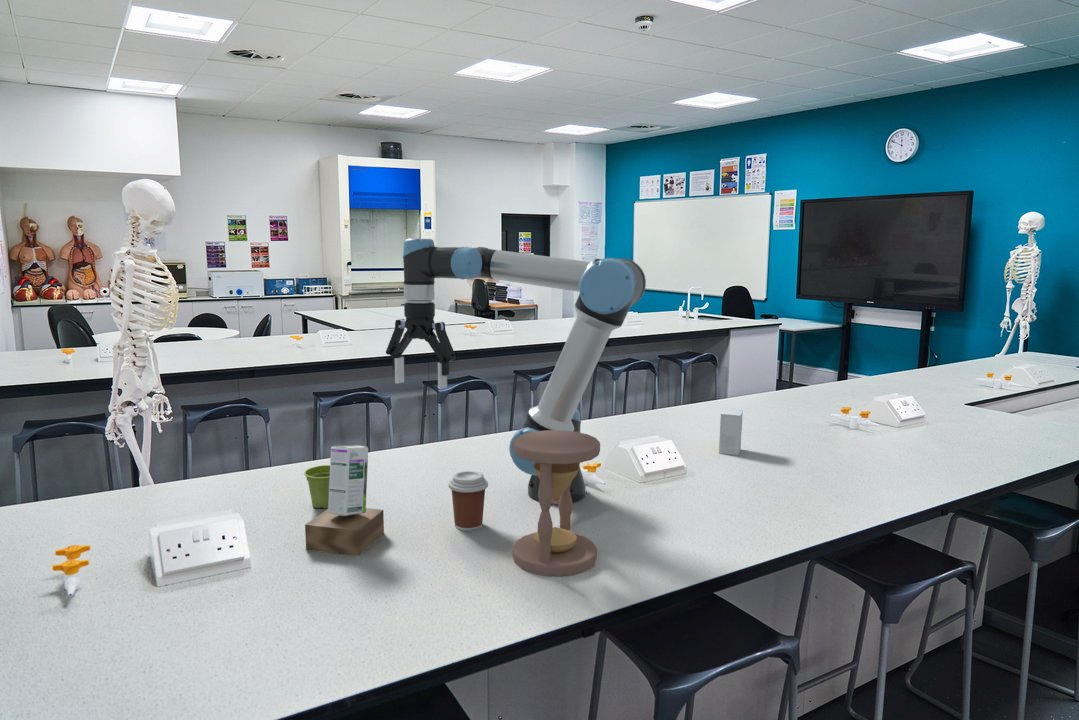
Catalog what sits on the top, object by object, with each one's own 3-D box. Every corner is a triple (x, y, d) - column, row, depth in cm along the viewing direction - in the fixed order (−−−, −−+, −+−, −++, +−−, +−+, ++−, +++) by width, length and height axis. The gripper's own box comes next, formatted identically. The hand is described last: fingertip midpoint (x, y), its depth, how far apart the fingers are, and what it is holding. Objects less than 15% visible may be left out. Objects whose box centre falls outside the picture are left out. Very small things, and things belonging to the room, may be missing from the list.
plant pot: (352, 504, 173) (351, 470, 171) (317, 514, 166) (316, 479, 164) (332, 495, 179) (331, 462, 178) (298, 504, 172) (296, 470, 171)
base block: (383, 535, 155) (383, 509, 154) (358, 558, 144) (357, 530, 143) (335, 529, 158) (334, 504, 157) (306, 551, 147) (305, 524, 146)
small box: (720, 447, 227) (723, 408, 225) (740, 449, 225) (743, 409, 223) (718, 453, 220) (720, 413, 218) (739, 456, 218) (741, 415, 216)
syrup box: (345, 516, 146) (349, 447, 147) (326, 513, 149) (330, 445, 150) (366, 513, 151) (369, 446, 152) (347, 510, 154) (350, 444, 155)
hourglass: (570, 585, 133) (573, 458, 129) (495, 562, 142) (496, 444, 138) (611, 552, 147) (614, 437, 143) (541, 533, 156) (543, 425, 152)
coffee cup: (451, 535, 155) (451, 483, 153) (446, 519, 164) (445, 470, 162) (491, 531, 157) (492, 480, 156) (484, 516, 166) (484, 467, 164)
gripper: (469, 303, 170) (470, 388, 173) (390, 298, 182) (392, 378, 185) (451, 305, 163) (452, 393, 167) (370, 300, 175) (372, 382, 179)
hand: (420, 385), depth 176 cm, fingers open, 13 cm apart
